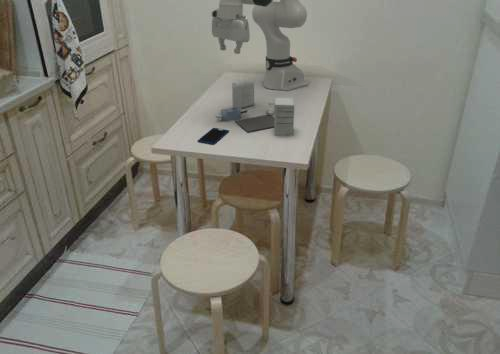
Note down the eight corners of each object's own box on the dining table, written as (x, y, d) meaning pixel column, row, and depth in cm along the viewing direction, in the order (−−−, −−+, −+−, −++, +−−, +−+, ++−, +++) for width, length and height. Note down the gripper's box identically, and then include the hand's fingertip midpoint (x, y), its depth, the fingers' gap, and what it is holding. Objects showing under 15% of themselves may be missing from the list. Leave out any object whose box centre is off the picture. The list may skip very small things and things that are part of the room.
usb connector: (245, 114, 201) (245, 105, 199) (248, 117, 198) (248, 108, 196) (214, 120, 196) (214, 111, 194) (218, 123, 193) (217, 114, 191)
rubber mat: (269, 115, 200) (269, 114, 199) (283, 125, 190) (283, 124, 190) (234, 122, 194) (234, 120, 193) (247, 132, 184) (247, 131, 184)
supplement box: (273, 128, 188) (274, 97, 182) (292, 128, 188) (293, 97, 182) (274, 135, 182) (274, 104, 176) (293, 135, 182) (294, 104, 176)
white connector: (267, 108, 207) (267, 102, 205) (274, 108, 206) (274, 102, 205) (266, 117, 198) (266, 110, 197) (274, 117, 198) (274, 110, 197)
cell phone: (230, 131, 186) (230, 130, 186) (214, 146, 175) (213, 144, 175) (213, 129, 189) (213, 127, 188) (196, 143, 178) (196, 141, 177)
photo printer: (250, 102, 214) (250, 75, 208) (255, 105, 211) (255, 78, 204) (231, 107, 209) (230, 79, 203) (236, 110, 206) (235, 82, 200)
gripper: (254, 16, 171) (252, 55, 176) (222, 11, 186) (222, 48, 191) (240, 16, 167) (239, 56, 173) (208, 11, 182) (208, 48, 188)
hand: (229, 51), depth 182 cm, fingers open, 8 cm apart
